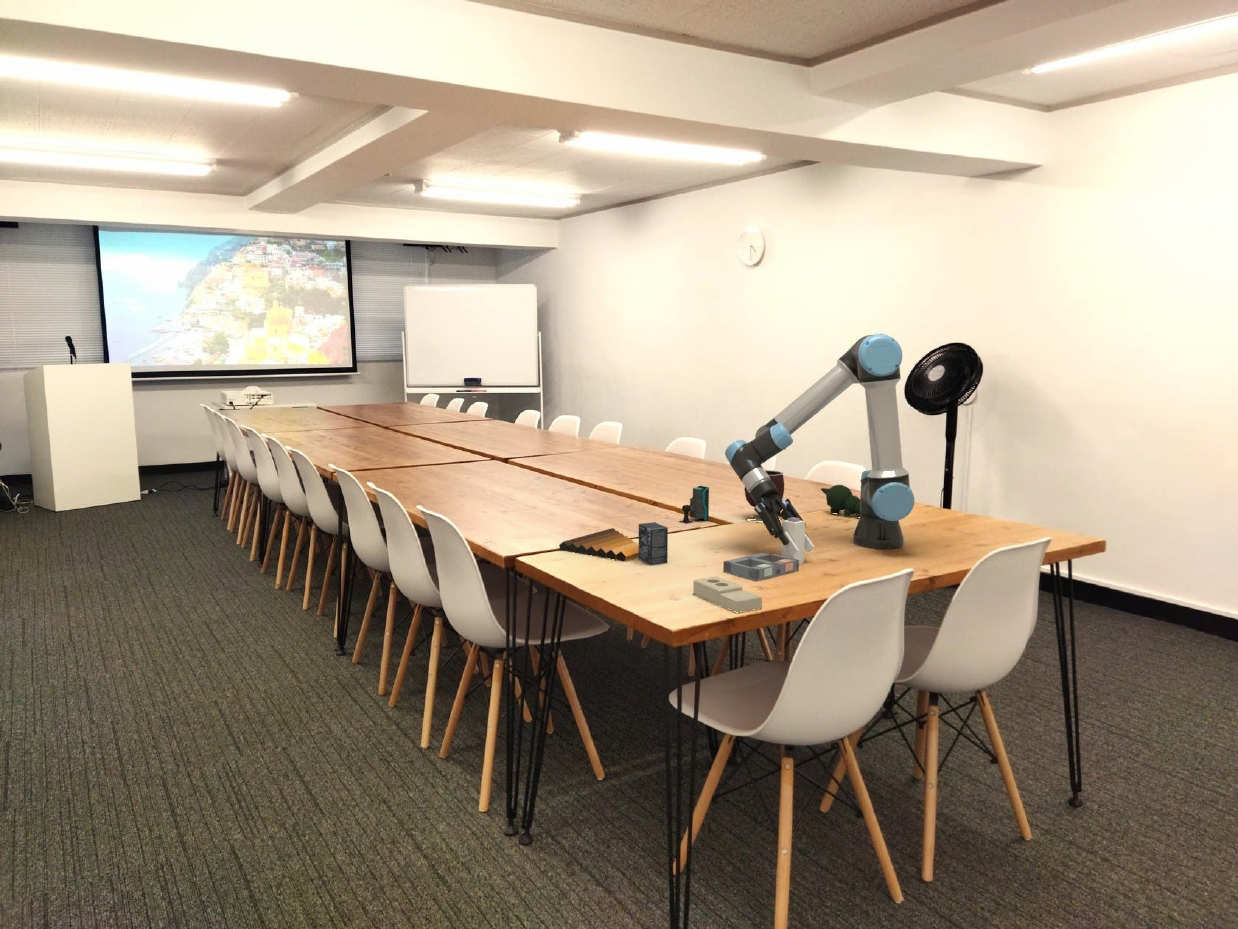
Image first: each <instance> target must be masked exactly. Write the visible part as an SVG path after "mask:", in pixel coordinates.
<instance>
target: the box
mask: <svg viewBox="0 0 1238 929" xmlns="http://www.w3.org/2000/svg"><path fill="white" fill-rule="evenodd" d="M668 531H669V527H668V526H665V525H662V524H660V523H657V522H655V521H654V522H645V523H638V545H639V557H638V560H640V561H642V562H644V563H647V564H648V565H649V566H657V565H665V564H668V555H669V554H668V552H669V551H668V549H669V547H668V545H669V544H668V543H669V542H668V541H669V540H668V539H669V538H668V537H669V535H668V534H669V532H668Z"/></svg>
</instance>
